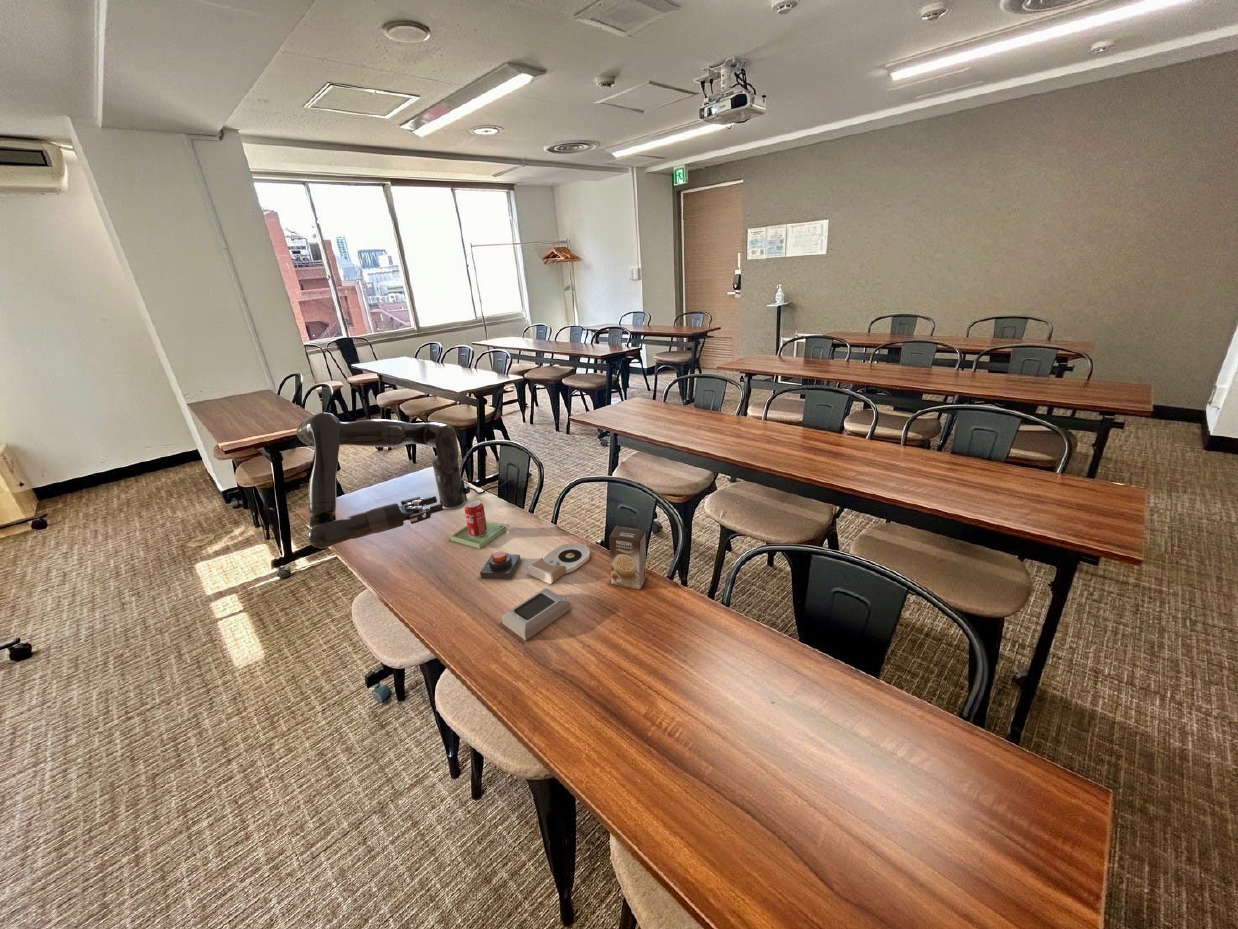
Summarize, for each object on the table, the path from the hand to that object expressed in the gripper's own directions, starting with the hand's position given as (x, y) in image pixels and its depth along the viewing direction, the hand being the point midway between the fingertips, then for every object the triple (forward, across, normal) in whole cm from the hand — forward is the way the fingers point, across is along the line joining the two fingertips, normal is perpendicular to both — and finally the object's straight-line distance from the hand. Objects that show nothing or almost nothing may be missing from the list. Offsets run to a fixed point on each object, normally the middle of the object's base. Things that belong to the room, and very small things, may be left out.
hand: (439, 502), depth 155 cm
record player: (+26, -34, +16) cm, 45 cm away
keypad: (+9, -51, +16) cm, 54 cm away
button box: (+9, -25, +16) cm, 31 cm away
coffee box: (+37, -53, +16) cm, 67 cm away
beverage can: (+11, 0, +16) cm, 19 cm away
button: (+9, -25, +12) cm, 29 cm away
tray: (+11, 0, +16) cm, 19 cm away
